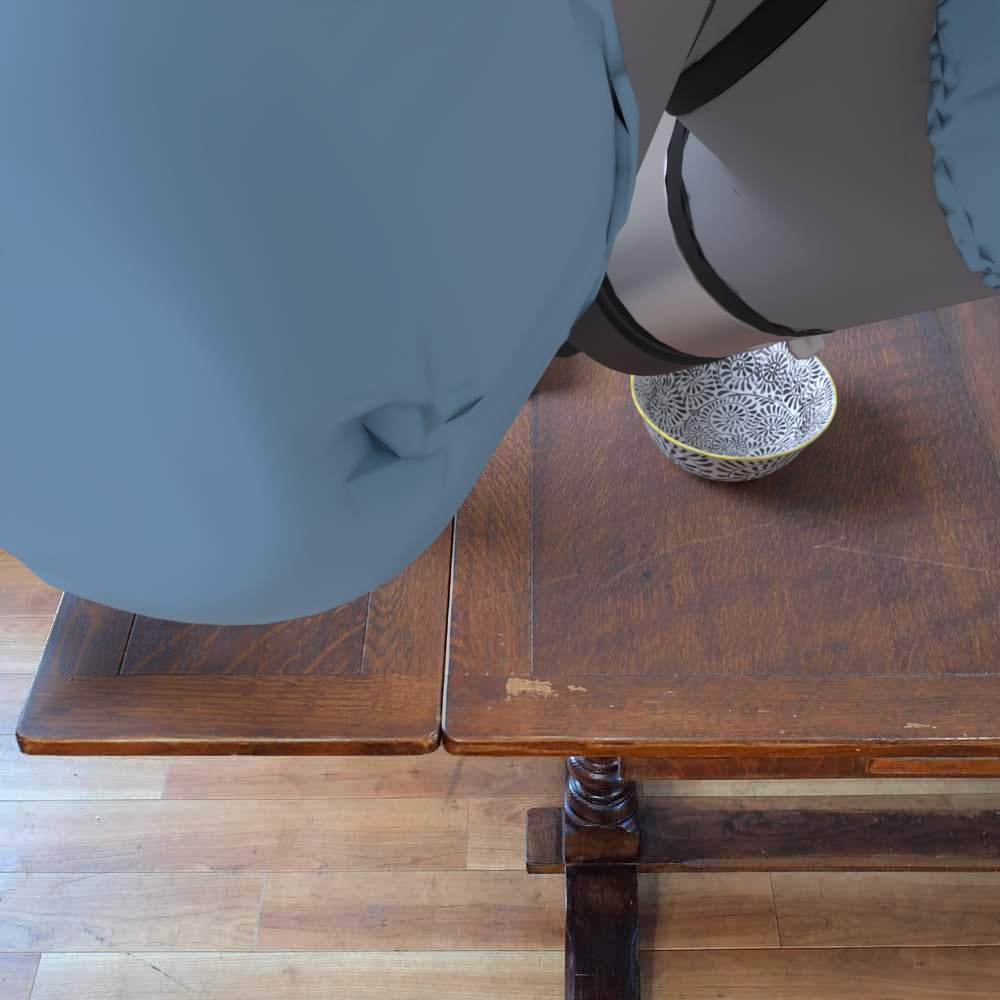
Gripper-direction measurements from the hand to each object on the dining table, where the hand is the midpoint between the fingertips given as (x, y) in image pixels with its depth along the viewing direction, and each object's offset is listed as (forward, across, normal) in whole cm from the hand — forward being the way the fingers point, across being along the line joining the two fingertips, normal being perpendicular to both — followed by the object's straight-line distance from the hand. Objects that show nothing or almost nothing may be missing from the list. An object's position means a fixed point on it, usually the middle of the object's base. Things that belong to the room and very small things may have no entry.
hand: (458, 346), depth 51 cm
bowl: (+26, +28, -17) cm, 41 cm away
